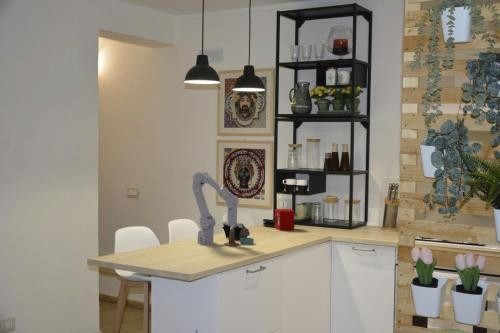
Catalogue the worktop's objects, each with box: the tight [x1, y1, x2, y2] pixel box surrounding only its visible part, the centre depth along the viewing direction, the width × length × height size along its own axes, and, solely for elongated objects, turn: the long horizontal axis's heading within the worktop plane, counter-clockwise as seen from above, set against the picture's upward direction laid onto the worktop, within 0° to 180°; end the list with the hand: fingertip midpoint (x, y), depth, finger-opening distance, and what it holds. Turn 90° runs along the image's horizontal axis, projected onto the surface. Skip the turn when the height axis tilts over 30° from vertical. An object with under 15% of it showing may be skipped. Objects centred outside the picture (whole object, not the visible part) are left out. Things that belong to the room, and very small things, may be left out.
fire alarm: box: [274, 208, 295, 232], centre depth 451 cm, size 16×11×15 cm
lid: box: [224, 236, 240, 247], centre depth 369 cm, size 9×9×5 cm
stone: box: [229, 222, 251, 241], centre depth 395 cm, size 18×10×15 cm
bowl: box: [239, 237, 254, 246], centre depth 375 cm, size 8×8×4 cm
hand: (232, 238), depth 369 cm, fingers open, 7 cm apart
